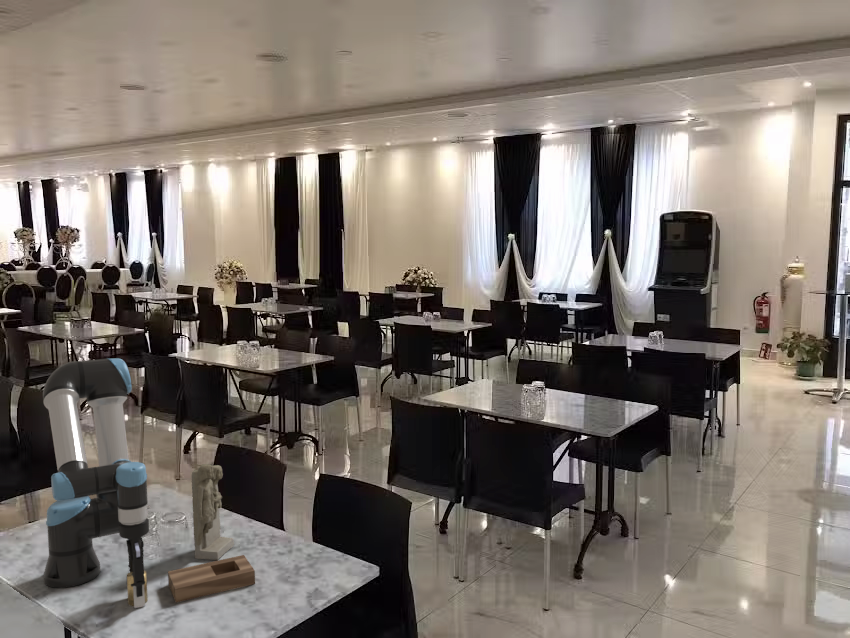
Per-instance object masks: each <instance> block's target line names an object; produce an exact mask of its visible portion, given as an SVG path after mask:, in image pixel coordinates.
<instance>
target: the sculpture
mask: <svg viewBox="0 0 850 638" xmlns="http://www.w3.org/2000/svg"><path fill="white" fill-rule="evenodd" d="M223 475H224V473H223V468H222V466H221V465H218V464H217V465H216V464H215V465H211V464H209V463H204V464H202V465H200V466H199V467H198V469H196V470H193V471H191V493H192V495H191V496H192V518H193V519H192V520H193V521H192V522H193V539H194V540H193V541H194V544H193V545H194V559H196V560H208V561H209V560H211V561H212V560H214V561H218V560H220V558H222V556H224V555H225V554H226V553H228V551H229V550H231V549H232V548H233V547H234V546H235V541H234V538H233V537H227V536H226V537H225V536H221V518H220V517H221V516H220V509H222V504H223V503H222V499H223V496H222V495H221V492H219V486H218V483H219V481H220V480H222V478H223Z"/></svg>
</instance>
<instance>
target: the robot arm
mask: <svg viewBox="0 0 850 638" xmlns="http://www.w3.org/2000/svg"><path fill="white" fill-rule="evenodd" d="M132 387H133V386H132V379H131V374H130V371H129V368H128V365H127V363H126V362H125V360H123V359H121V358H119V357H116V358H110V357H109V358H108V357H106V358H99V359H90V360H89V359H88V360H80V361H79V360H76V361H74V360H73V361H68V362H66V363H63V364H62V365H60V366H58V367H57V368H56V369H55V370H54V371H53V372H51V374H50V376H49V377H48V379H47V380H46V382H45V385H44V388H43V391H42V402H43V405H44V407H45V408H46V409H47V410H48V413H49V421H50V427H51V434H52V441H53V448H54V454H55V461H56V462H55V463H56V467H57V468H56V469H57V472H56V473H53V474H52V475H51V477H50V479H51V480H50V481H51V482H50V483H51V492H52V493H51V494H52V497H53V499H54V501H55V502H53V503H52V504H50V505H49V506H48V508H47V510H46V521H45V525H46V526H47V528H46V529H47V542H48V543H47V544H48V546H47V547H48V557H47V561H46V565H45V567H44V571H43V583H44V585H45V586H47V587H50V588H54V589H55V588H57V589H58V588H59V589H62V588H71V587H75V586H79V585H82V584H85V583H88V582H90V581H92V580H94V579H95V578H96V577H98V576H99V575H100V573H101V563H100V559H99V558H98V555H97V553H96V551H95V549H94V546H93V539H96V538H101V537H107V536H112V535H117V534H119V537H121V538H122V539H126V541H125V543H126V547H127V555H128V569H129V572H132V571H133V580H134V583H133V584H131V587H132V586H133V595H134V606H133V608H134V609H137V608H141V607H145V606H146V603H145V593H144V584H145V579H144V570H145V567H144V565H145V563H144V551H145V550H144V547H145V543H144V540H143V536H146V535H148V533H149V532H150V524H149V523H150V521H149V509H151V506H150V505H149V504H148V484H147V481H148V480H147V479H148V474H147V467H146V465H145V464H144V462H140V461H131V460H130V459H129V458H130V457H129V450H128V449H129V447H128V441H127V432H126V422H125V412H124V403H125V402H126V400H128V395H129V394H130V393H131V392H132V390H133V389H132ZM80 399H86V404H87V405H88V406H89V407H91V408H92V409H93V410H92V411H93V420H94V430H95V438H96V448H97V449H96V451H97V459H98V466H93V467H89V465H88V464H89V463H88V460H87V455H86V449H85V443H84V438H83V431H82V425H81V420H80V415H79V410H78V404H79V401H80ZM93 495H94V496H95V495H96V497H94V498H91V497H90V496H93Z"/></svg>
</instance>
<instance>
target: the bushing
mask: <svg viewBox="0 0 850 638" xmlns="http://www.w3.org/2000/svg"><path fill="white" fill-rule="evenodd" d="M144 579H145V584H144V593H145V604H146V603H147V602H148V597H149V596H148V581H147V580H148V578H147V570H145V569H144ZM133 583H134V580H133V571H132V572H130V571H129V572H128V573H127V574H126V586H127V587H126V589H127V604H128V606H131V607H134V595H133V586H132V587H131V584H133Z"/></svg>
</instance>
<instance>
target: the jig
mask: <svg viewBox="0 0 850 638" xmlns="http://www.w3.org/2000/svg"><path fill="white" fill-rule="evenodd" d="M251 564H252V563H250V562H249V560H248V559H247V557H246V556H245V555H244V554H241V555H237V556H233V557H228V558H223V559H218V560H214V561H209V562H205V563H201V564H195V565H192V566H191V565H190V566H186V567H182V568H179V569H173V570H169V571H167V579H168V580H167V581H168V584H167V585H168V586H169V587H168V588H169V589H170V592H171V595H172V597H173V601H175V603H176V604H177V603H182V602H185V601H190V600H194V599H198V598H203V597H207V596H210V595H215V594H218V593H223V592H227V591H231V590H235V589H239V588H242V587H243V588H244V587H247V586H251V585H255V584H256V573H255V572H256V570H255V569H254V568H253V566H252V565H251Z"/></svg>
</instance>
